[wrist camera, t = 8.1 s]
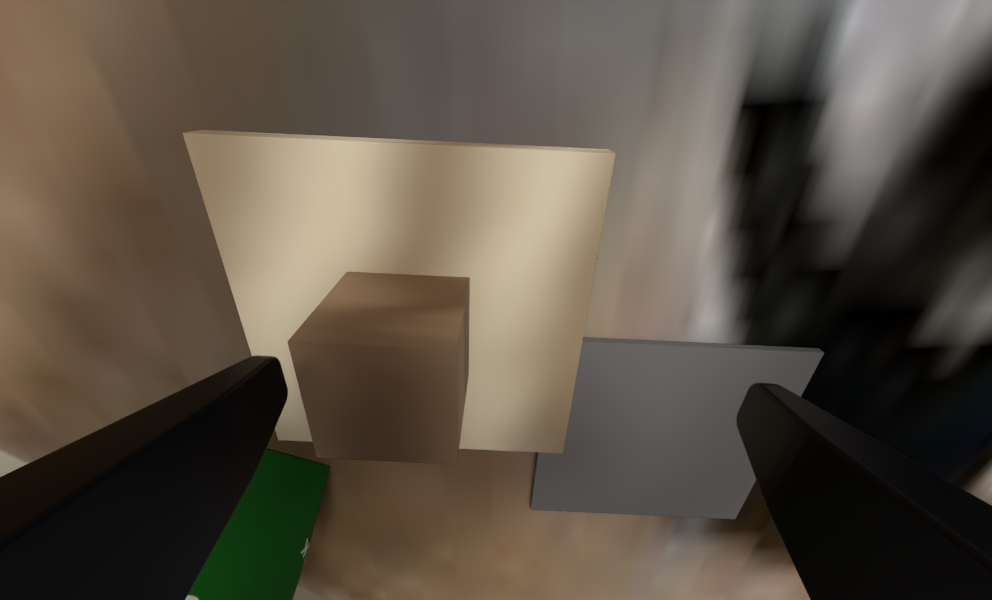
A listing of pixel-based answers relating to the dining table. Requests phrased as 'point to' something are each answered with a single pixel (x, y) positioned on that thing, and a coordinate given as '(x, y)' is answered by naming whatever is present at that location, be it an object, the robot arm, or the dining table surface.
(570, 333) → the lid
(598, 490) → the mat
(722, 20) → the dining table surface
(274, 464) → the milk carton
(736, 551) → the dining table surface
